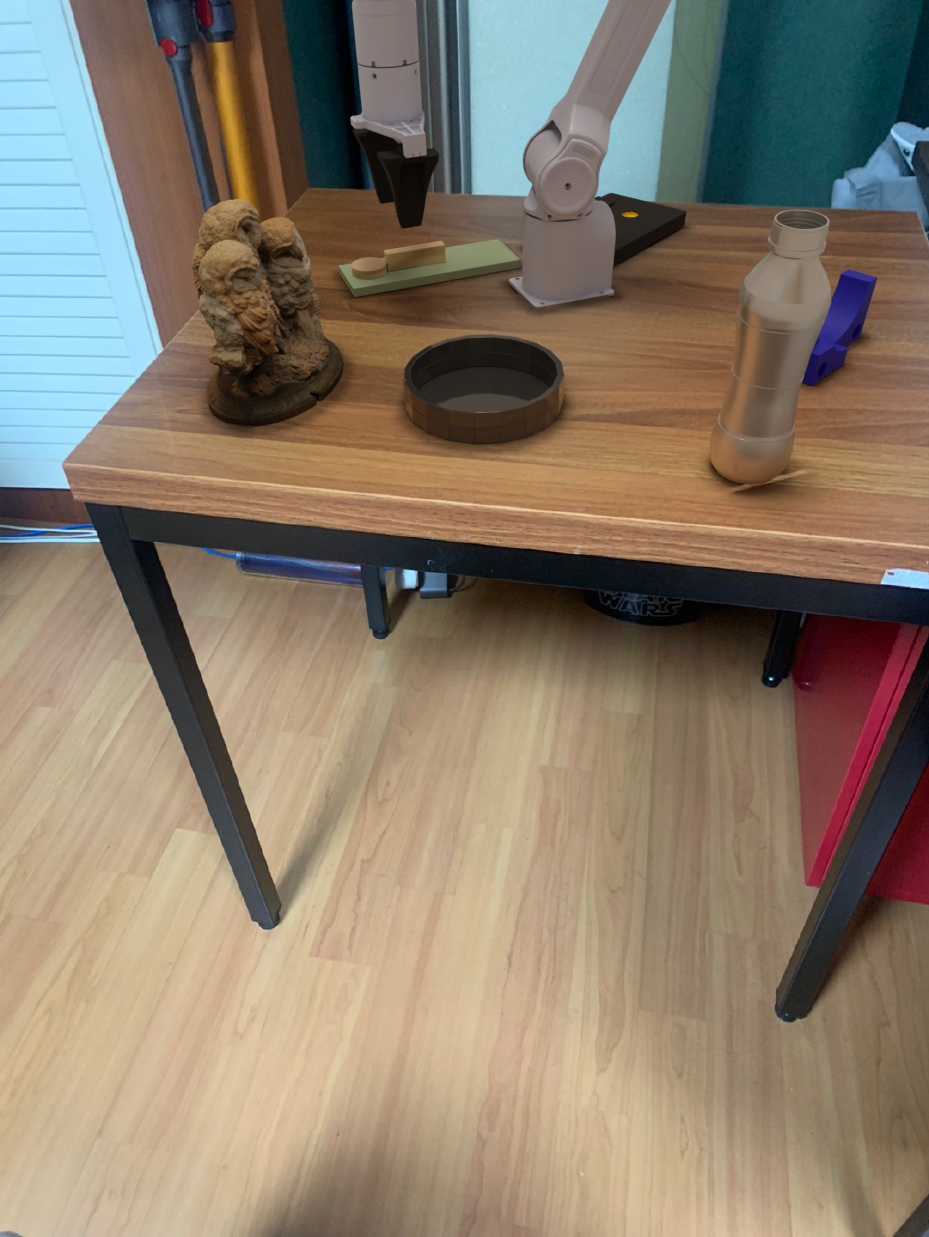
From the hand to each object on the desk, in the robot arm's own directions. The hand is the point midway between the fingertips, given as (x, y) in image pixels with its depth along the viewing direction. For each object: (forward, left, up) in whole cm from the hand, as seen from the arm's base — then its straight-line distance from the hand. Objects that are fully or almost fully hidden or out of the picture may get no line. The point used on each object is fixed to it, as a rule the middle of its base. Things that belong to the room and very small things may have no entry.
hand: (399, 213), depth 92 cm
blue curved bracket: (-34, +28, -10) cm, 45 cm away
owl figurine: (+17, +13, -10) cm, 23 cm away
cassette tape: (-28, -8, -10) cm, 31 cm away
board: (-5, -7, -9) cm, 13 cm away
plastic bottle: (-16, +42, -10) cm, 46 cm away
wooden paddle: (-1, -7, -8) cm, 11 cm away
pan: (0, +24, -9) cm, 26 cm away
